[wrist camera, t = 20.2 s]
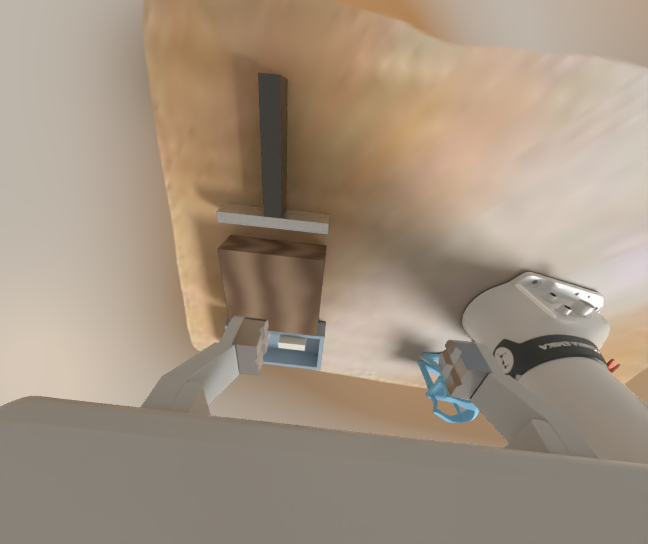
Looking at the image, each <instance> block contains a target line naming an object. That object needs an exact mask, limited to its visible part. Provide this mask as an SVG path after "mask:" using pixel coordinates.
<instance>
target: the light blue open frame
mask: <svg viewBox="0 0 648 544" xmlns="http://www.w3.org/2000/svg"><path fill="white" fill-rule="evenodd" d="M423 357H424V359H425V360H426V361H427V362H428V363H430V364H431V365H430V364H428V363H426V362H424V361H418V364H419V367H420V369H421V372H422V374H423V376H424V379H425V382H426V385H427V388H428V391H427V393H426V396H427V398H431V399H432V401H433V413H434V414H436V415H438V416H439V417H441V418H442V419H444V420H445V421H447V422H451V423H454V422H455V423H462V422H468V421H471V420H473V419H474V418H475V417H476V416H477V414H478V412H479V410H478V408H477V407H476V406H475V405H474V404H473V403H472V402H471V401H470V400H465V399H462V398H458V397H450V394H449V392H448V389H447V386H446V384H445V381H446V379H447V378H446V377H445V376H444V375H443V374H442V373H441V371H440V368H439V365H438V364H437V363H436V362H434V361H433V360H439V357H440V354H431V353H423ZM427 369H428V370H430V371H431V372H433V373H435V374H437V375H439V377H438V379H437V380H436V382H435V383H434V384H433V382H432V380H431V378H430V375H429V373H428V371H427ZM437 399H438V400H444V401H447V402H451V403H454V406H455V408H456V410H457V412H458V414H457V415H454V416H448V415H446V414H444V413H442V412H441V411H440V410H438V409H437ZM459 406H461V407H463V408H465V409H467V410H466V411H464V412H461V409H460V407H459Z"/></svg>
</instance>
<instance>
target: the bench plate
mask: <svg viewBox="0 0 648 544" xmlns="http://www.w3.org/2000/svg"><path fill="white" fill-rule="evenodd" d="M218 254H219V260H220V267H221V273H222V280H223V286H224V292H225V299H226V305H227V312H228V318H229V323H230V321H231V319H232V318H233V317H234V316H241V317H251V318H258V319H265V320H268V325H269V326H268V329H267V331H274V332H283V333H292V334H301V335H310V336H317V328H318V320H319V311H320V301H321V292H322V282H323V273H324V264H325V254H326V246H323V245H314V244H305V243H296V242H287V241H277V240H268V239H259V238H250V237H241V236H232V235H230V236H229V237H228V239H227V240H226V241H225V242H224V243H223V244H222V245H221V246H220V247H219V248H218Z"/></svg>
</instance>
